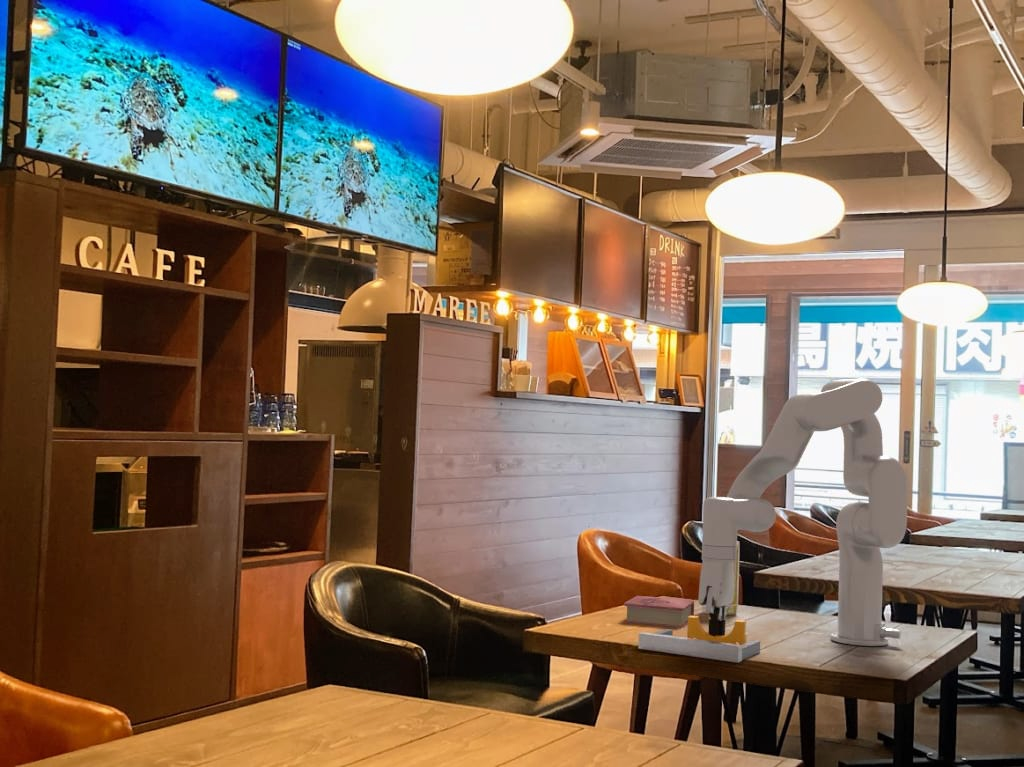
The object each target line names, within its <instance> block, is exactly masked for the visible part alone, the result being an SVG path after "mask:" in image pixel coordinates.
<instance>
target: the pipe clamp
mask: <svg viewBox="0 0 1024 767" xmlns="http://www.w3.org/2000/svg"><path fill="white" fill-rule="evenodd" d="M746 624H747V621H746V620H744V619H736V620H735V621H734V625H733V628H732V629H731V631H730V632H729V633H727V634H725V635H724V636H717V635H716V636H712V635H710V634H708V633H709V632H707V631H705V629H704V628H703V627H702V625H701V621H700V616H699V615H694V616H689V617H688V624H687V634H686V635H687V636H686V638H691V639H699V640H706V641H714V642H722V643H729V644H738V645H743V644H745V643H747V634H746V627H747V626H746Z"/></svg>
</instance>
